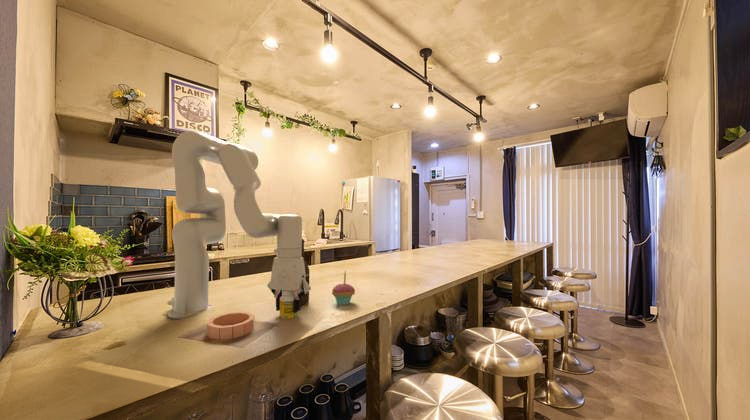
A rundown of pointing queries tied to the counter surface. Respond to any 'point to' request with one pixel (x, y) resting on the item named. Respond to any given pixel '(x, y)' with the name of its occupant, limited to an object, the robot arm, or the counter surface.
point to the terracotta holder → (220, 331)
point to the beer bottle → (306, 297)
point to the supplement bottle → (287, 305)
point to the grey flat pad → (239, 341)
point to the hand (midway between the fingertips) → (288, 309)
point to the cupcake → (343, 292)
